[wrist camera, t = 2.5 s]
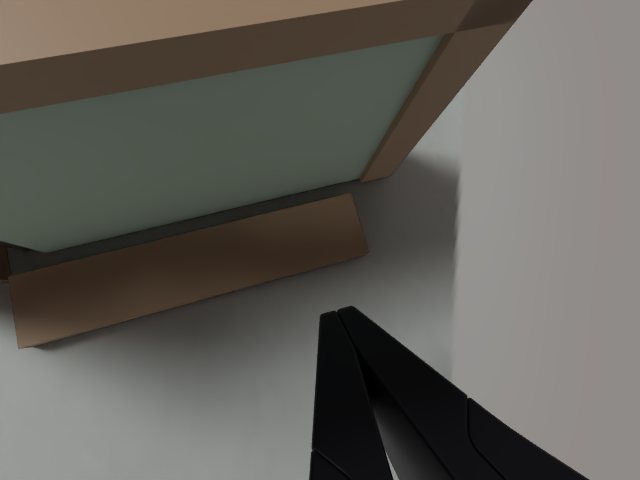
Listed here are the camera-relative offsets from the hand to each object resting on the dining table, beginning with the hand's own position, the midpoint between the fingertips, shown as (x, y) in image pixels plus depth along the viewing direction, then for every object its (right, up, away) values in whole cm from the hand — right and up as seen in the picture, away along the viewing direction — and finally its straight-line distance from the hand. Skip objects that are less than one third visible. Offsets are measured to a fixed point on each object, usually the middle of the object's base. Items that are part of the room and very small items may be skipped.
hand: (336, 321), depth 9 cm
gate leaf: (-5, +4, +8) cm, 10 cm away
